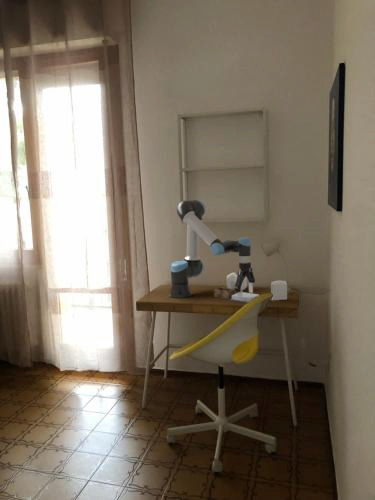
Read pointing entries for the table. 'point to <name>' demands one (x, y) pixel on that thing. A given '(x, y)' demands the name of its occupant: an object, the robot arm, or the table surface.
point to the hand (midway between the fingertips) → (245, 294)
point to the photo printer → (279, 290)
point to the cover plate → (245, 296)
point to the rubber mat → (238, 301)
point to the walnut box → (224, 292)
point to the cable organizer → (232, 281)
